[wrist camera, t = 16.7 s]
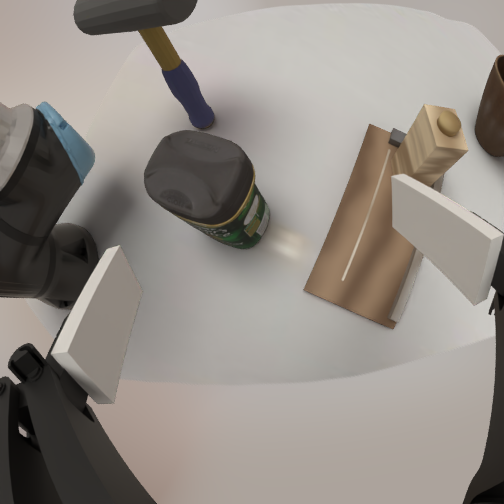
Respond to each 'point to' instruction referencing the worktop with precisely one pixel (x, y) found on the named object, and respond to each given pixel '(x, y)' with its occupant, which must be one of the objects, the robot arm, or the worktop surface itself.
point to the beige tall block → (430, 145)
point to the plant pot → (492, 112)
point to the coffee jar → (208, 187)
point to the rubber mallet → (150, 41)
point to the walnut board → (368, 240)
